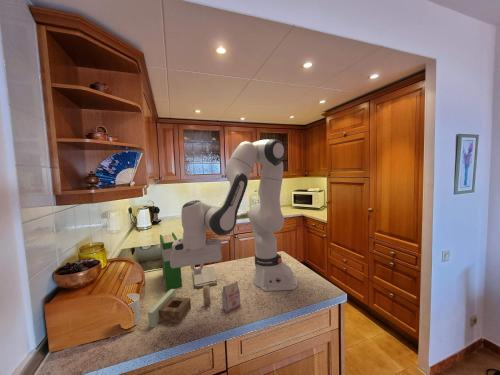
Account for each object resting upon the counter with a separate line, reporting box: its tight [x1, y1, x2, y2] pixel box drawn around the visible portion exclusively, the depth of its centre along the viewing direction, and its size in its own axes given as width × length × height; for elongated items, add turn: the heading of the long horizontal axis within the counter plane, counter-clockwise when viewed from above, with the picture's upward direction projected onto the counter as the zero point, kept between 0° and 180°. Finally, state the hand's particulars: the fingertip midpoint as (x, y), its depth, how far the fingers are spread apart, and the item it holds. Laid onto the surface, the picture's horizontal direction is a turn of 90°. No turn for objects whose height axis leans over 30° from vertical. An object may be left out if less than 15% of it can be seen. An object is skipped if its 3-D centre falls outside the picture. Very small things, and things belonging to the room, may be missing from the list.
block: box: [159, 296, 192, 324], centre depth 89 cm, size 9×9×4 cm
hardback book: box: [159, 232, 183, 292], centre depth 115 cm, size 18×7×24 cm, turn 27°
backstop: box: [147, 289, 177, 328], centre depth 90 cm, size 2×16×6 cm, turn 169°
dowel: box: [202, 285, 212, 307], centre depth 94 cm, size 3×3×8 cm
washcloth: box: [192, 267, 218, 290], centre depth 117 cm, size 12×18×3 cm, turn 19°
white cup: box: [126, 292, 141, 326], centre depth 85 cm, size 8×8×10 cm
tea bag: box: [221, 281, 242, 313], centre depth 92 cm, size 4×7×10 cm, turn 126°
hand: (197, 274), depth 88 cm, fingers closed
